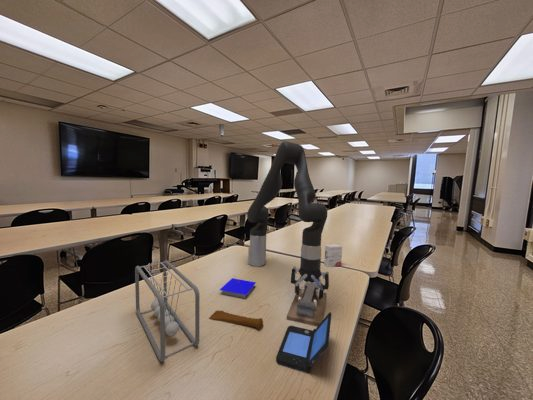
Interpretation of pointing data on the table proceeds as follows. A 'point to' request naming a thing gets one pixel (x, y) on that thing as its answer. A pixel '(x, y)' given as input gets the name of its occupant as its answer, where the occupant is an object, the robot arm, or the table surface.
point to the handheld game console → (304, 345)
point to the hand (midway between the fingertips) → (308, 296)
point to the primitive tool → (236, 319)
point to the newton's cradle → (161, 310)
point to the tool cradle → (318, 309)
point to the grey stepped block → (307, 301)
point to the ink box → (333, 255)
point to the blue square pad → (237, 288)
